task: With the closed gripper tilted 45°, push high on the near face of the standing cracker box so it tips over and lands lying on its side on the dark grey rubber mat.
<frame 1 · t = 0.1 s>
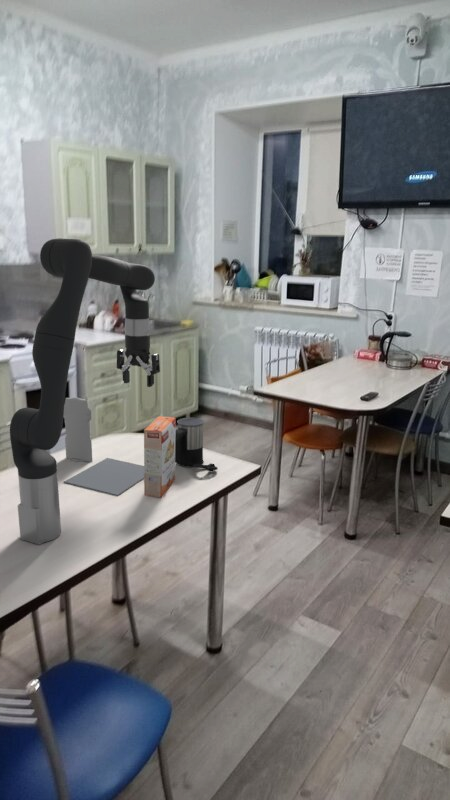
hand: (138, 384, 176), 29 cm above the table, tool pointing down, fingers open, 8 cm apart
tall pale column: (79, 460, 193), on the table
milk frother: (197, 467, 190), on the table
cracker box: (160, 488, 173), on the table
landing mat: (112, 476, 181), on the table
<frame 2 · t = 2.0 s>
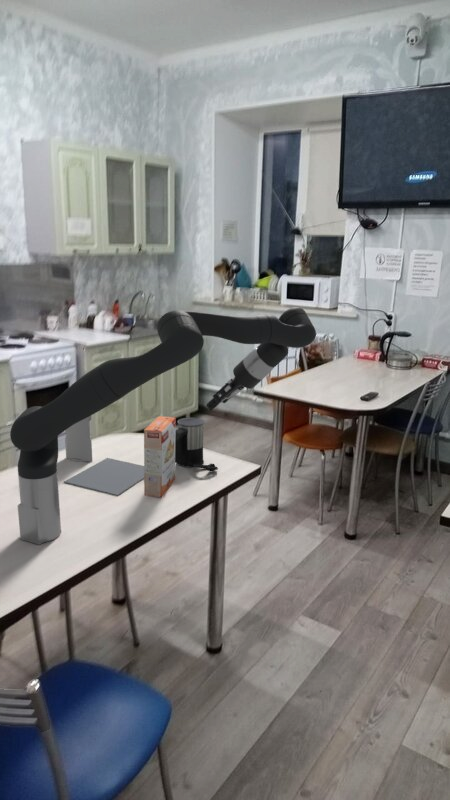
hand: (215, 404, 159), 29 cm above the table, tool tilted 45°, fingers open, 8 cm apart
nothing on the table moved.
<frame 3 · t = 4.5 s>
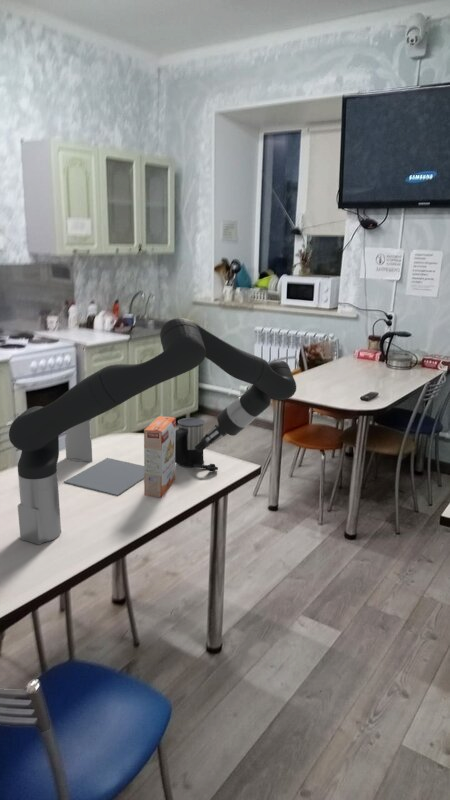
hand: (197, 449, 164), 15 cm above the table, tool tilted 45°, fingers closed
nothing on the table moved.
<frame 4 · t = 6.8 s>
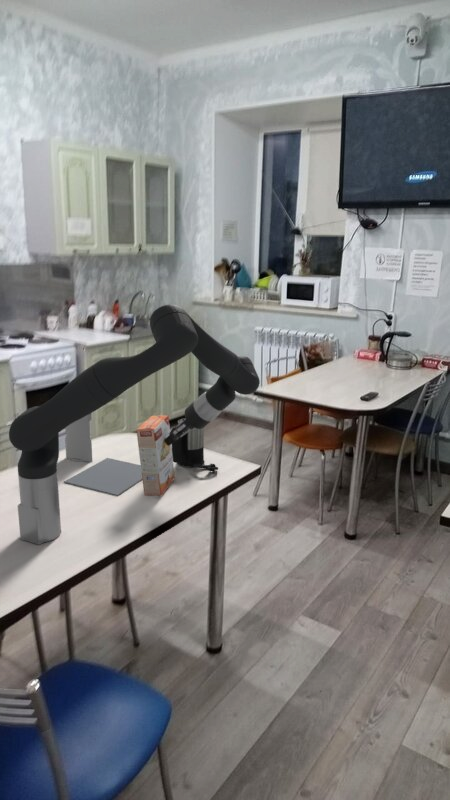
hand: (167, 442, 169), 15 cm above the table, tool tilted 45°, fingers closed
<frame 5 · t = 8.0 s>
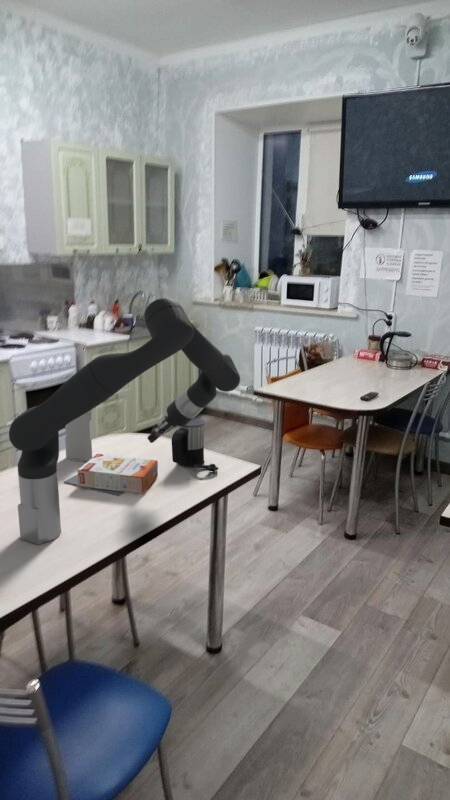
hand: (150, 439, 171), 15 cm above the table, tool tilted 45°, fingers closed
cracker box: (151, 476, 173), point 3 cm above the table, touching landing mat
everything else where it was.
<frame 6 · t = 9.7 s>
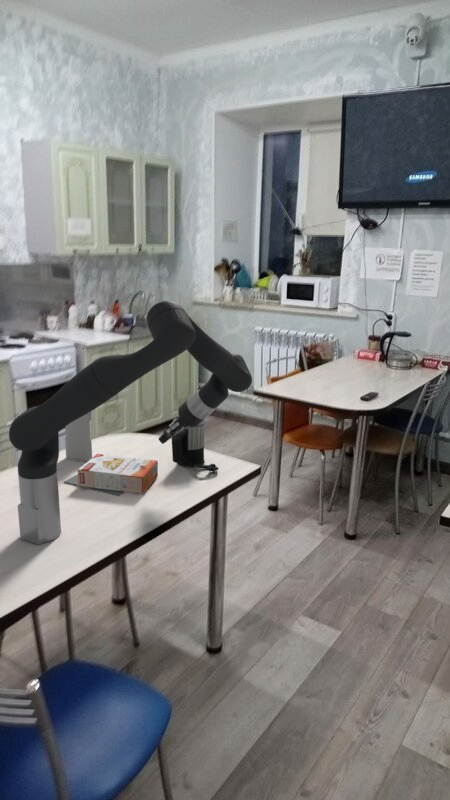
hand: (161, 440, 170), 15 cm above the table, tool tilted 45°, fingers closed
nothing on the table moved.
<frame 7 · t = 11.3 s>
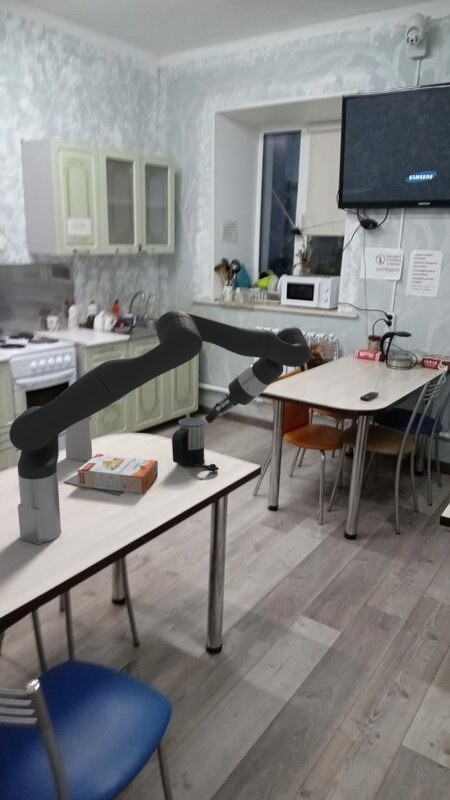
hand: (208, 420, 161), 24 cm above the table, tool tilted 45°, fingers closed
nothing on the table moved.
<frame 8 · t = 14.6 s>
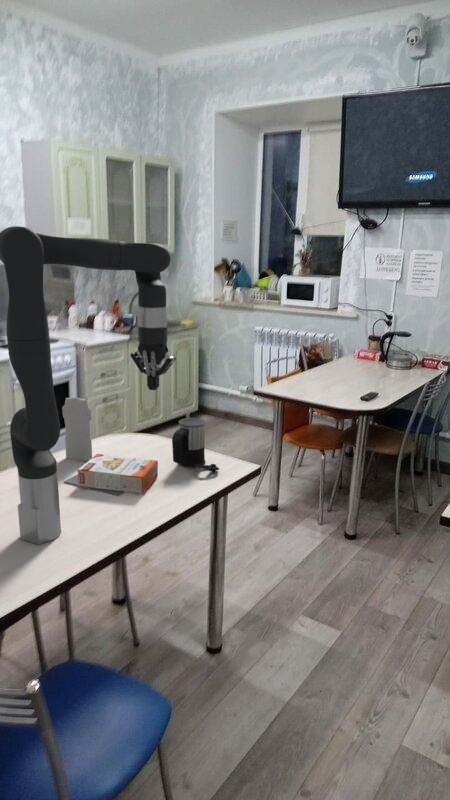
hand: (153, 389, 150), 35 cm above the table, tool pointing down, fingers closed
nothing on the table moved.
at the end: cracker box tilted 91°; cracker box touching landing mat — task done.
